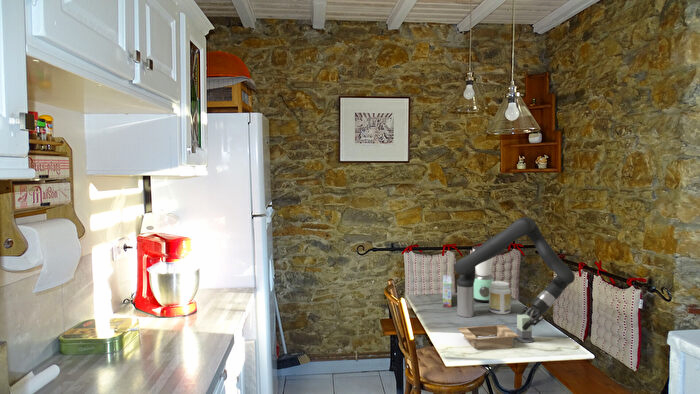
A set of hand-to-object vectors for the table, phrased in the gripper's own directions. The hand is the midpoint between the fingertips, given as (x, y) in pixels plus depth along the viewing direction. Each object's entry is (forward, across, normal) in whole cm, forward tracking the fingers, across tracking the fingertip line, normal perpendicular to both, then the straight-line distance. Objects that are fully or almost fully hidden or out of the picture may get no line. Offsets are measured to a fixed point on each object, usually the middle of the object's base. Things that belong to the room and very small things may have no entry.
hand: (520, 327), depth 214 cm
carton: (+17, 0, -8) cm, 18 cm away
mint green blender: (-2, -65, +12) cm, 66 cm away
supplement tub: (-2, -42, +12) cm, 44 cm away
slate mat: (+3, 0, +6) cm, 7 cm away
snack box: (+15, -65, -5) cm, 67 cm away
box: (+2, 0, +5) cm, 5 cm away
